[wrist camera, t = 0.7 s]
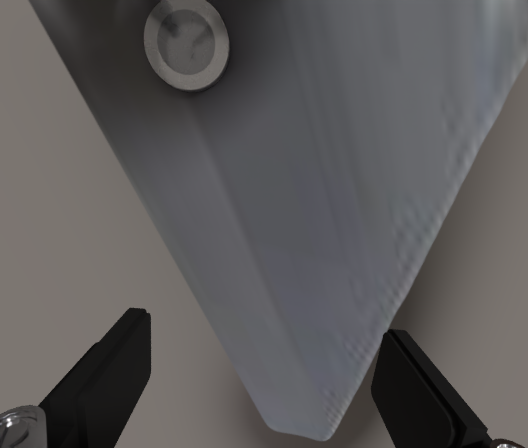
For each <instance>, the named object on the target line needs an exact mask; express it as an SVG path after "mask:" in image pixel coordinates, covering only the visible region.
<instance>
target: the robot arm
mask: <svg viewBox="0 0 528 448" xmlns="http://www.w3.org/2000/svg"><path fill="white" fill-rule="evenodd" d="M150 374H151V316H150V313H147V312H146V310H145V309H140V308H129V309H128V310H127V311H126V312H125V313H124V314H123V316H122V317H121V318H120V319H119V320H118V321H117V322H116V323H115V325H114V326H113V327H112V328H111V329H110V330H109V331H108V332H107V333H106V335H105V336H104V337H103V338H102V339H101V340H100V341H99V342H97V343H95V344H94V345H93V346H92V347H91V348H90V349H89V350H88V351H87V352H86V353H85V354H84V356H83V357H82V358H81V359H80V360H79V361H78V362H77V363H76V364H75V366H74V367H73V368H72V369H71V370H70V371H69V372H68V373H67V374H66V375H65V377H64V378H63V379H62V380H61V381H60V382H59V383H58V384H57V385H56V386H55V388H54V389H53V390H52V391H51V392H50V393H49V394H48V395H47V397H45V399H44V400H43V401H42V402H41V403H40V404H39V405H38V406H33V405H28V406H20V407H17V408H13V409H10V410H8V411H6V412H4V413H2V414H0V448H114V447H115V445H116V443H117V441H118V439H119V437H120V435H121V433H122V431H123V429H124V427H125V425H126V423H127V421H128V419H129V418H130V415H131V413H132V412H133V409H134V408H135V406H136V404H137V402H138V400H139V398H140V396H141V394H142V392H143V390H144V388H145V386H146V384H147V382H148V380H149V378H150ZM371 394H372V397H373V400H374V402H375V403H376V406H377V408H378V410H379V413H380V415H381V417H382V419H383V421H384V423H385V426H386V428H387V430H388V432H389V434H390V436H391V439H392V441H393V443H394V445H395V447H396V448H525V447H523V446H522V445H520V444H517V443H515V442H513V441H510V440H506V439H494V440H492V439H491V438H490V437H489V435H488V434H487V430H488V429H487V427H486V426H485V425H484V424H483V423H482V421H481V420H480V419H479V418H478V417H477V415H476V414H475V413H474V412H473V411H472V410H471V408H470V407H469V406H468V405H467V403H466V402H465V401H464V400H463V399H462V398H461V396H460V395H459V394H458V393H457V391H456V390H455V389H454V388H453V387H452V385H451V384H450V383H449V382H448V381H447V379H446V378H445V377H444V376H443V375H442V374H441V372H440V371H439V370H438V369H437V368H436V366H435V365H434V364H433V363H432V361H431V360H430V359H429V358H428V357H427V355H426V354H425V353H424V352H423V351H422V349H421V348H420V347H419V346H418V345H417V343H416V342H415V341H414V340H413V339H412V338H411V336H410V335H409V334H408V333H407V332H406V331H405V330H396V329H389V330H388V332H387V333H384V335H383V339H382V343H381V347H380V351H379V356H378V360H377V364H376V369H375V372H374V377H373V381H372V386H371Z"/></svg>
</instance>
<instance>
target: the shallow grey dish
mask: <svg viewBox="0 0 528 448" xmlns="http://www.w3.org/2000/svg"><path fill="white" fill-rule="evenodd" d="M144 46H145V51H146V55H147V58H148V60H149V62H150V64H151V66H152V68H153V69H154V71H155V72H156V73H157V74H158V75H159V76H160V77H161V78H162V79H163V80H164V81H165V82H167V83H168V84H169V85H171V86H172V87H174V88H176V89H178V90H181V91H184V92H192V93H194V92H201V91H204V90H207V89H209V88H211V87H212V86H214V85H215V84H216V83H217V82H218V81H219V80H220V79H221V78H222V76H223V75H224V73H225V71H226V69H227V66H228V63H229V59H230V41H229V37H228V33H227V29H226V26H225V24H224V22H223V19H222V18H221V16H220V14H219V13H218V12H217V10H216V9H215V8H214V7H213V6H212V5H211V4H210V3H208V2H207V1H206V0H162V1H160V2H159V3H158V4H157V5H156V6H155V7H154V8H153V10H152V11H151V13H150V15H149V17H148V19H147V22H146V25H145V30H144Z"/></svg>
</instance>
